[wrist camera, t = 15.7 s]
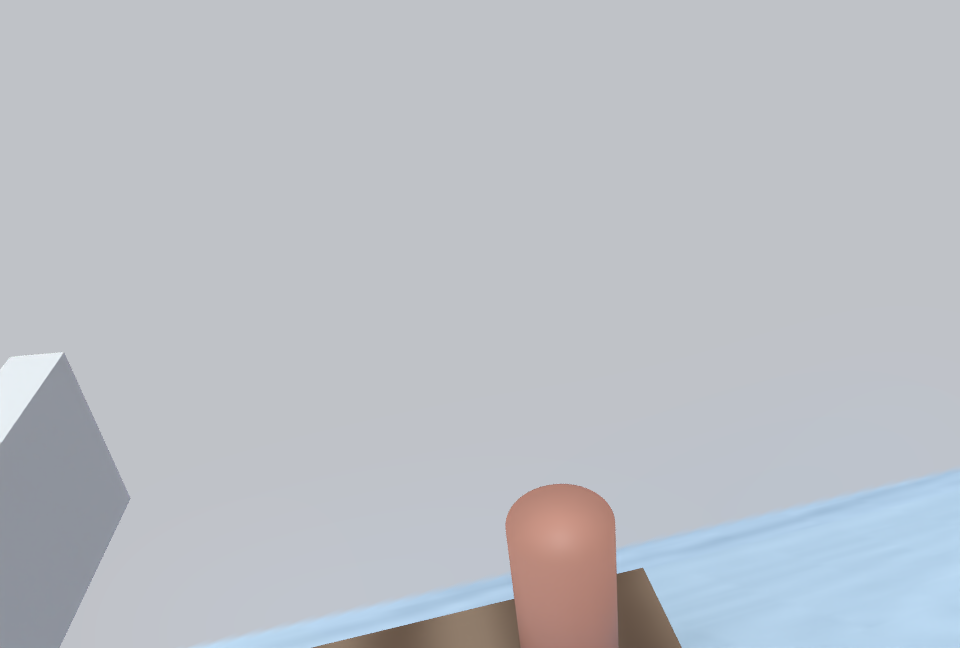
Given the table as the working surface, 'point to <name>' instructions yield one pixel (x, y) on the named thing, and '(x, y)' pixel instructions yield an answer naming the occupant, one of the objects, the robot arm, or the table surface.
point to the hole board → (494, 630)
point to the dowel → (563, 568)
